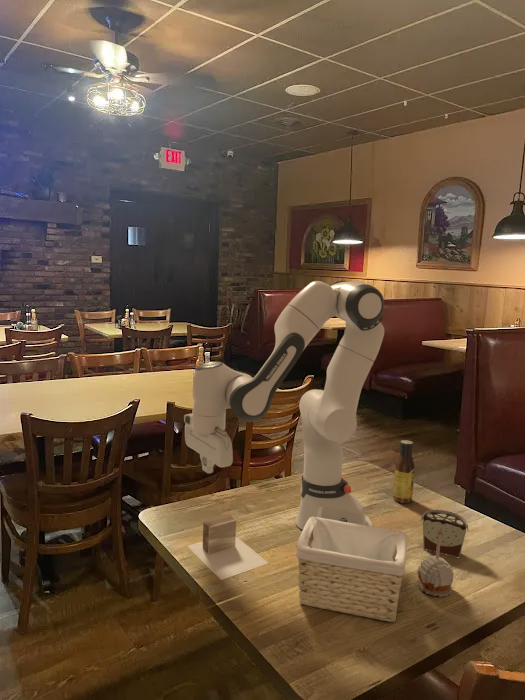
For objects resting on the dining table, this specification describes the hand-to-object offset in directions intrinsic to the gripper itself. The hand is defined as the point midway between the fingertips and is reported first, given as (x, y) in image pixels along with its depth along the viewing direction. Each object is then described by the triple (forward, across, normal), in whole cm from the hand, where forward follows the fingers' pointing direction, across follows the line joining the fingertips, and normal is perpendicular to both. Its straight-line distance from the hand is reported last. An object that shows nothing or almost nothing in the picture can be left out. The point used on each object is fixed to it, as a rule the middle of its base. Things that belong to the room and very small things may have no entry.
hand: (207, 471), depth 148 cm
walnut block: (+19, -7, 0) cm, 20 cm away
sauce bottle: (+19, -12, -67) cm, 71 cm away
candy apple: (+19, -49, -35) cm, 64 cm away
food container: (+19, -38, -53) cm, 68 cm away
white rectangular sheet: (+19, -11, 0) cm, 22 cm away
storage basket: (+19, -40, -16) cm, 48 cm away
